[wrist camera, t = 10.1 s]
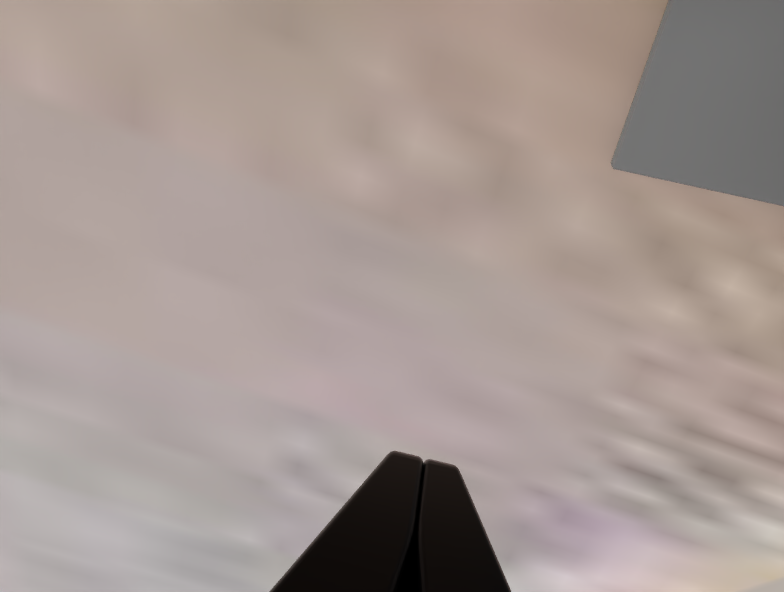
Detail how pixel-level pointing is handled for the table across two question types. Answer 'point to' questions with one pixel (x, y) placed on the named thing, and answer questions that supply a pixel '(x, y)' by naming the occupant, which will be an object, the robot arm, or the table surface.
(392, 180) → the table surface
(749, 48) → the rubber mat
